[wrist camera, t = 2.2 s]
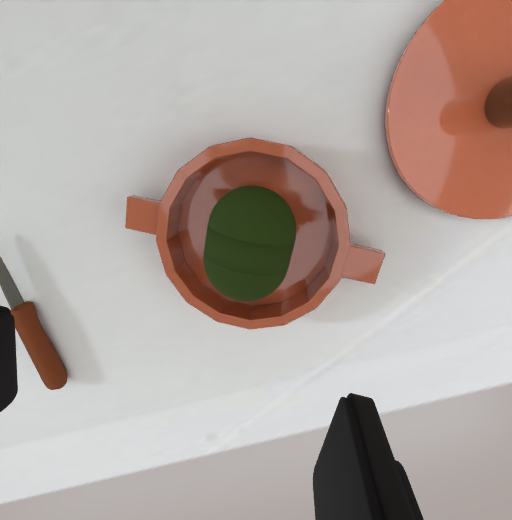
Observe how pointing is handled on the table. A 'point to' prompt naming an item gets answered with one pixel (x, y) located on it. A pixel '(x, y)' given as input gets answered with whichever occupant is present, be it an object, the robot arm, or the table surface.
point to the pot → (306, 243)
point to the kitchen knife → (33, 334)
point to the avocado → (249, 243)
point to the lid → (456, 109)
